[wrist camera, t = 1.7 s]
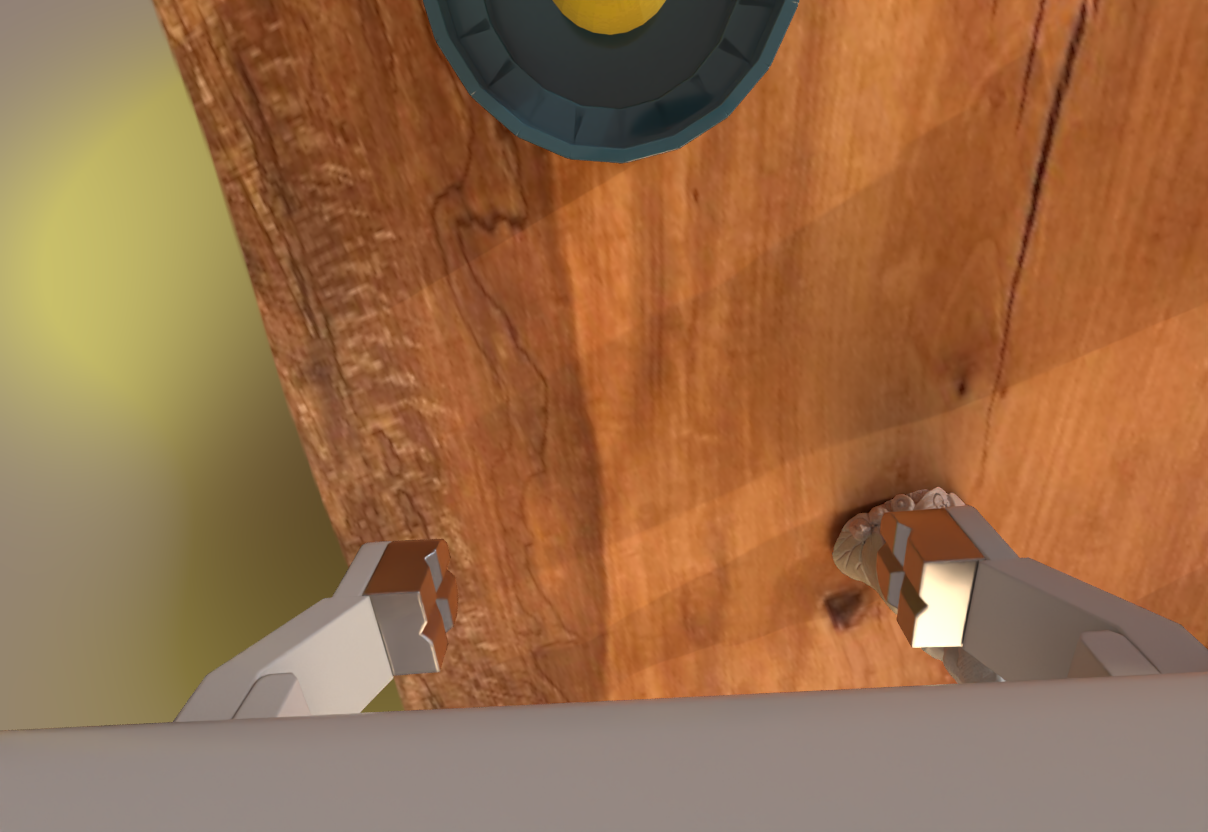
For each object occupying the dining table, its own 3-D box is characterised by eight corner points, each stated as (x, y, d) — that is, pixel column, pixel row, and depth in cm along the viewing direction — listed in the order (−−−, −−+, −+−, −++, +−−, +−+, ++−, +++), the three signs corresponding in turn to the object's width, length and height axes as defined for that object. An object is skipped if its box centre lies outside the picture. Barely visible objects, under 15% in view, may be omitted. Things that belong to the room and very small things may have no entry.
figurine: (884, 611, 45) (1067, 952, 27) (808, 537, 43) (954, 859, 24) (1002, 535, 42) (1293, 859, 24) (928, 451, 40) (1192, 743, 22)
